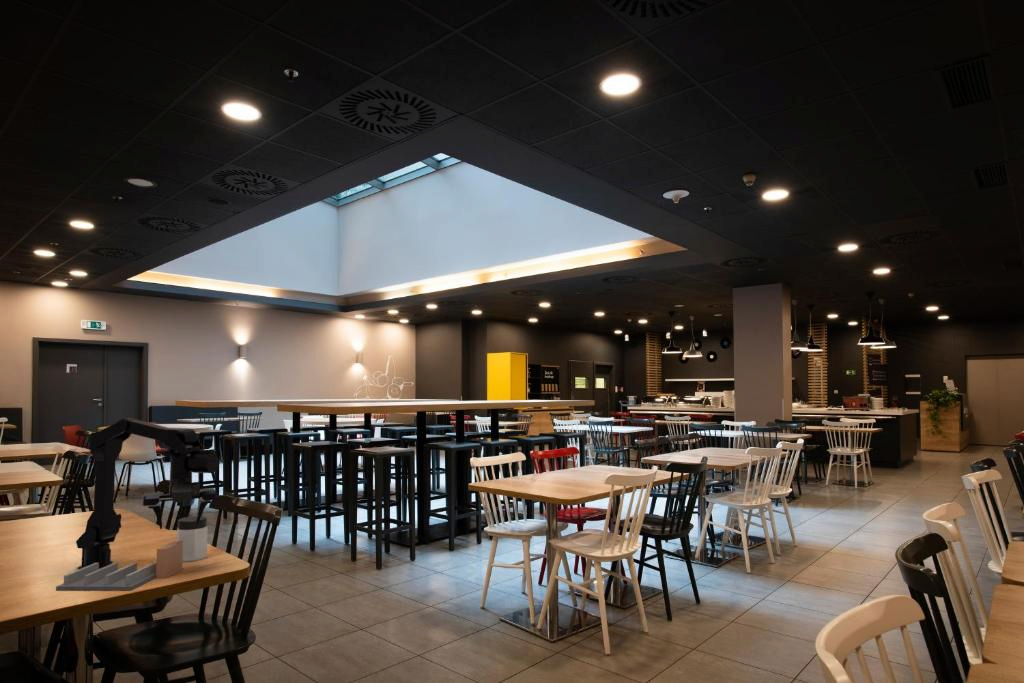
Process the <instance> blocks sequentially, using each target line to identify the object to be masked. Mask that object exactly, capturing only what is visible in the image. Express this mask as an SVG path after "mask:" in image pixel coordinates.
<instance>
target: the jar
mask: <svg viewBox="0 0 1024 683" xmlns="http://www.w3.org/2000/svg"><path fill="white" fill-rule="evenodd" d="M196 516H197V515H195V516H185V517H182V518H179V519H178V520H177V528H176V541H183V562H184V563H185V562H196V561H199V560H203V559H206V558H207V556H208V517H207V516H205V515H203V516H202V515H201V518H200V521H199V523H198V525H196Z"/></svg>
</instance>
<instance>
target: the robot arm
mask: <svg viewBox="0 0 1024 683" xmlns="http://www.w3.org/2000/svg"><path fill="white" fill-rule="evenodd" d="M132 435H135V436H138V437H139V436H140V437H143V438H147V439H151V440H155V441H158V442H160V443H162V446H165V447H167V448H169V449H168V450H167V452H165V453H164V454H163V457H165V458H170V463H169V464H170V465H169V466H170V468H169V470H170V471H169V490H168V492H169V493H167V494H160V492H158V491H157V492H156V491H155V492H145V493H144V494H143V496H142V506H143V507H148V509H152V510H153V512H154V514H155V516H156V521H157V523H158V525H159V529H160V530H162V529H163V521H162V520H163V519H162V511H161V504H160V503H161V502H170V501H172V502H173V503H180V502H187V503H188V502H190V501H192V500H193V499H198V502H197V511H196V515H195V516H196V525H198V523H199V521H200V518H201V516H202V515H203V512H204V511H205V509H206V506H207V505H208V504H211V503H212V501H217V494H218V493H217V491H216V489H215V488H213V487H209V488H200V482H193V473H194V474H197V473H198V474H214V473H215V472H217V470H218V469H219V465H220V459H219V457H218V455H217V454H216V449H212V448H211V449H205V447H204V446H203V444H202V443H201V441H200V440H199V438H198V436H197V433H196V431H195V429H193V428H188V427H187V428H186V427H167V426H163V425H160V424H155V423H151V422H147V421H143V420H139V419H138V418H135V417H132V418H131V417H130V418H122V419H119V420H118V421H116V422H115V423H113V424H112V425H110V426H107V427H105V428H103V429H102V430H100V431H96V432H94V433H92V435H91V436H90V437H89V442H88V443H89V450H90V451H89V452H90V454H91V456H92V458H93V459H94V461H95V474H94V475H95V476H94V491H93V492H94V493H93V511H92V512H91V514H90V515H89V517H88V518H87V521H86V525H85V530H84V532H83V533H82V534H81V535H80V536H79V537H78V538H77V540H76V541H75V543H76V548H77V549H81V565H79V566H77V570H79V569H81V568H84V567H86V566H89V565H91V564H94V563H99V569H101V568H104V567H106V566H108V565H111V564H113V563H114V562H113V561H112V560H111V559H112V549H111V548H110V546H111V544H110V543H114V542H115V540H116V536H117V535H118V534H119V533H120V528H122V523H121V522H122V517H123V516H122V514H121V513H117V512H116V511H115V509H114V508H115V507H114V502H115V501H114V500H115V480H116V479H115V476H116V461H117V458H118V457H119V455H120V454H121V452H122V449H123V445H124V444H123V443H124V442H125V441H127V440H129V438H131V436H132Z"/></svg>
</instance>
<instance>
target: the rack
mask: <svg viewBox="0 0 1024 683" xmlns="http://www.w3.org/2000/svg"><path fill="white" fill-rule="evenodd" d="M156 564H157V562H151V563H150V564H148V565H145V566H144V567H141V568H139V569H138V562H132V563H130V564H128V565H126V566H124V567H121V568H119V562H113V563H111V564H109V565H107V566H104V567H102V568H99V563H94V564H91V565H89V566H86V567H84V568H81V569H77V570H75V571H72V572H70V573H67V574H64V575H63V582H62V583H60V584H59V585H56V586H55V591H84V592H85V591H89V592H90V591H91V592H92V591H97V592H98V591H99V592H100V591H101V592H102V591H106V592H107V591H110V592H111V591H112V590H120V591H122V592H123V591H133V590H135V589H137V588H139V587H141V586H143V585H145V584H147V583H149V582H151V581H153V580H155V579H157V578H156Z"/></svg>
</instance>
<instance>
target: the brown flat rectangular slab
mask: <svg viewBox="0 0 1024 683" xmlns="http://www.w3.org/2000/svg"><path fill="white" fill-rule="evenodd" d="M181 569H182V570H183V541H177V540H174V541H172V542H169V543H167V544H165V545H163V546H160V547H158V548H157V549H156V578H155V579H166V578H169V577H170V576H172V575H174V574H176V573H177V571H178V572H179V570H180V571H181Z"/></svg>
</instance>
